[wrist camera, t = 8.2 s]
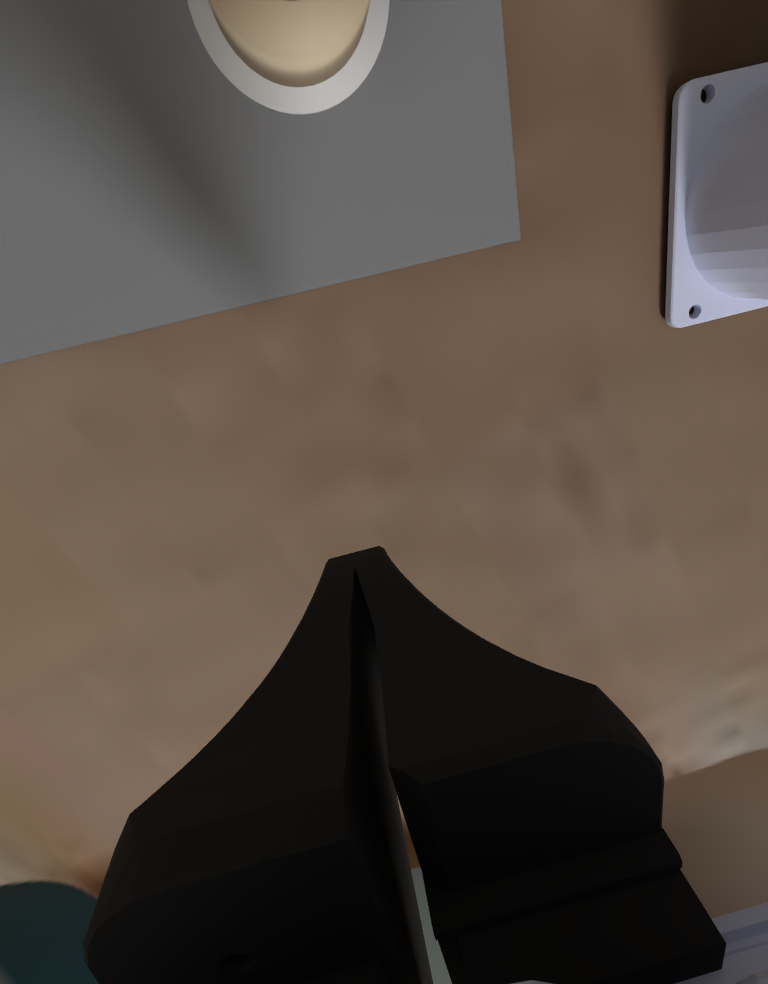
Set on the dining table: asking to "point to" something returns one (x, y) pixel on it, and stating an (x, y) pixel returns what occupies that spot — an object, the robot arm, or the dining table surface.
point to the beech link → (292, 36)
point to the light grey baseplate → (234, 162)
